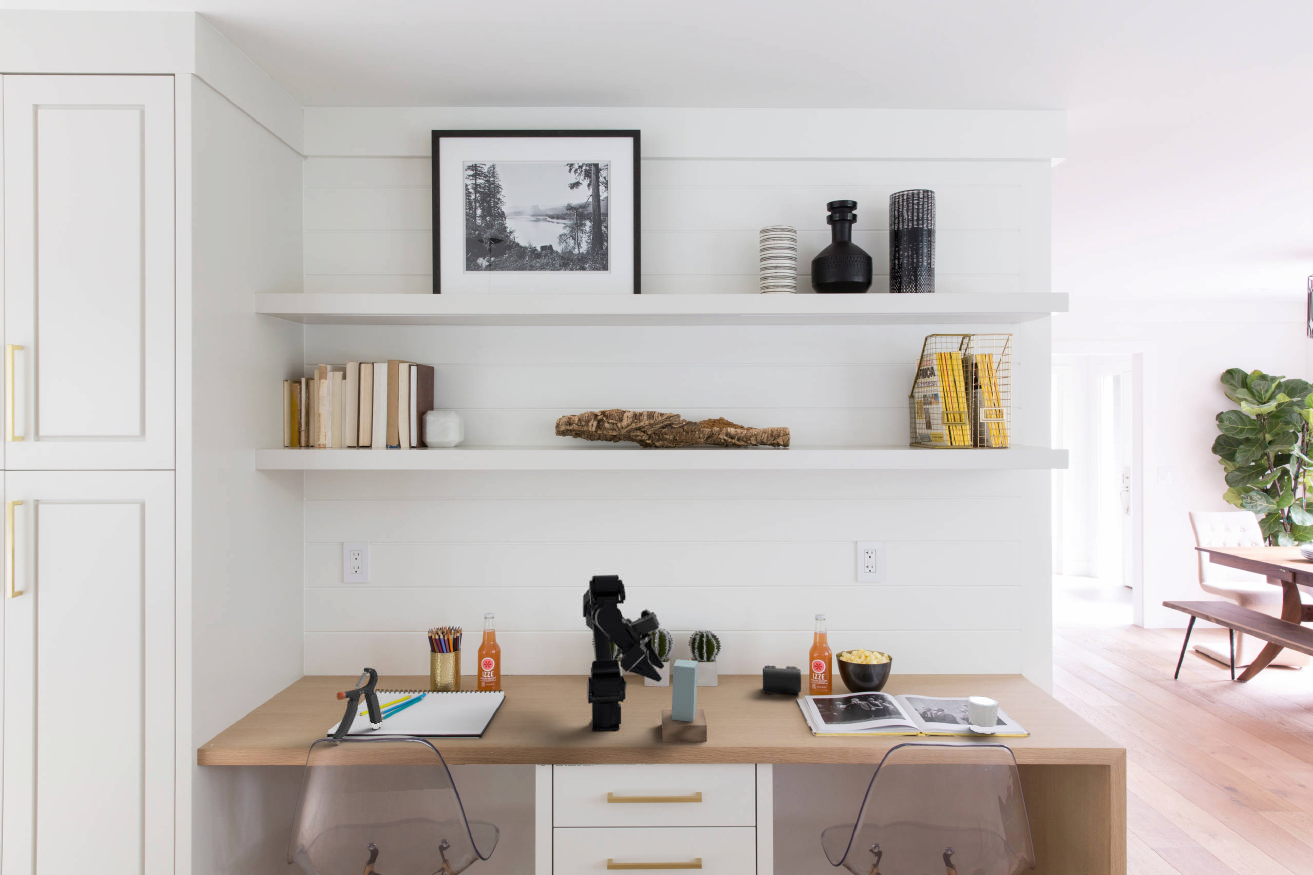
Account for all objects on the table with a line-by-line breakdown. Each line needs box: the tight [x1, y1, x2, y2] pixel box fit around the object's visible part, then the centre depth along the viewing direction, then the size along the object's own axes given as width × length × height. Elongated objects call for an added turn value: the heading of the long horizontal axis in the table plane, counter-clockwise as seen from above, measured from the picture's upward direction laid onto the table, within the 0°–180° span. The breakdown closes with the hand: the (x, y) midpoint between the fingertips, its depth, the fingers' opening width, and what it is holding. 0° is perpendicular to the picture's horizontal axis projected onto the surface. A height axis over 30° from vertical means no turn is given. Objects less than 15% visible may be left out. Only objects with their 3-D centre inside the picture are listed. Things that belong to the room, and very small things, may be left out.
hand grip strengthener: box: [331, 667, 383, 740], centre depth 173 cm, size 2×12×15 cm, turn 149°
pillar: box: [671, 658, 699, 722], centre depth 175 cm, size 5×5×12 cm
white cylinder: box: [966, 695, 999, 727], centre depth 177 cm, size 7×7×7 cm
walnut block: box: [661, 708, 708, 742], centre depth 175 cm, size 10×10×4 cm
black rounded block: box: [762, 665, 802, 695], centre depth 202 cm, size 10×7×7 cm
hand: (661, 673), depth 176 cm, fingers open, 9 cm apart
